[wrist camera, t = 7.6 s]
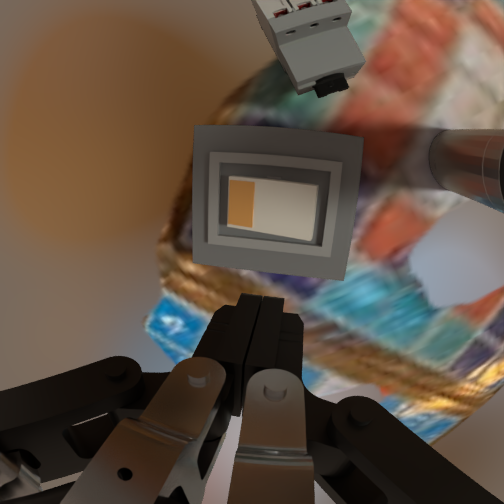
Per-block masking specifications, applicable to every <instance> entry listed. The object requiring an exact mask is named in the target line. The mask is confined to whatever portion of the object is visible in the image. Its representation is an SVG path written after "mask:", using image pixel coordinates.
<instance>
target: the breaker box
mask: <svg viewBox="0 0 504 504" xmlns="http://www.w3.org/2000/svg"><path fill="white" fill-rule="evenodd" d="M363 144H364V137H358V136H351V135H345V134H338V133H330V132H322V131H313V130H304V129H293V128H281V127H265V126H243V125H194V143H193V181H192V240H193V263H197V264H204V265H212V266H220V267H228V268H236V269H244V270H253V271H261V272H269V273H278V274H287V275H295V276H304V277H313V278H322V279H332V280H341V281H344V277H345V272H346V266H347V261H348V256H349V250H350V245H351V239H352V233H353V226H354V220H355V213H356V206H357V199H358V191H359V183H360V175H361V165H362V155H363ZM232 175H236V176H246V177H257V178H266V179H275V180H284V181H292V182H300V183H307V184H314V185H319V186H318V196H317V205H316V214H315V222H314V231H313V238H312V240H311V241H307V240H302V239H296V238H291V237H285V236H279V235H274V234H268V233H262V232H256V231H250V230H244V229H238V228H232V227H227V214H228V186H229V176H232Z"/></svg>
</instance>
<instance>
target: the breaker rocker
mask: <svg viewBox="0 0 504 504" xmlns="http://www.w3.org/2000/svg"><path fill="white" fill-rule="evenodd" d="M318 186H319V185H314V184H307V183H300V182H292V181H284V180H275V179H266V178H257V177H246V176H236V175H232V176H229V186H228V214H227V227H232V228H238V229H244V230H250V231H256V232H262V233H268V234H274V235H279V236H285V237H291V238H296V239H302V240H307V241H311V240H312V238H313V231H314V222H315V214H316V205H317V196H318Z"/></svg>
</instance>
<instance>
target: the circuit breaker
mask: <svg viewBox="0 0 504 504" xmlns="http://www.w3.org/2000/svg"><path fill="white" fill-rule="evenodd" d="M251 1H252V3H253V6H254V8H255V11H256V13H257V15H256V16H257V18H258V20H259V23H260V25H261V28H262V30H264V33H265V35H266V37H267V39H268V41H269V43H270V44H271V46H272V48H273V50H274V52H275V54H276V56H277V58H278V60H279V61H280V63H281V65H282V67H283V69H284V71H285V72H287V73H288V76H289V78H290V80H291V82H292V84H293V86H294V88H295V90H296V92H297V94H298V95H301V94H303V93H306V92H309V91H312V90H315V92H316V94H317V96H318V98H321V97H324V96H327V95H328V94H331V93H334V92H337V91H339V92H340V91H343V90H346V89H348V88H349V86H348V83H347V81H346V80H347V79H350V78H354V76H355V75H356V74H357V73H358V71H359V70H360V69H361V68H362V66H363V65H364V64H365V62H366V60H365V58H364V56H363V54H362V53H361V51H360V49H359V47H358V45H357V43H356V41H355V40H354V38H353V36H352V34H351V32H350V31H349V29H348V27H347V24H348V21H349V18H350V16H351V13H352V10H351V9H350V7H349V6H348V4H347V3H346V1H345V0H251Z"/></svg>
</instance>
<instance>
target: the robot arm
mask: <svg viewBox="0 0 504 504" xmlns="http://www.w3.org/2000/svg"><path fill="white" fill-rule="evenodd" d="M429 163H430V168H431V171H432V174H433V176H434V178H435V179H436V181H437V182H438V183H439V184H440V185H441V186H442V187H443V188H445V189H447V190H450V191H452V192H455V193H457V194H460V195H462V196H465V197H467V198H470V199H472V200H474V201H477V202H479V203H482V204H484V205H486V206H488V207H491V208H493V209H495V210H497V211H500V212H502V213H504V129H459V130H446V131H443V132H441V133H440V134H439V135H437V136H436V138H435V139H434V141H433V142H432V145H431V147H430V152H429ZM262 300H263V301H262ZM283 306H284V298H278V297H270V296H264V297H263V296H261V295H253V294H246V293H241V295H240V298H239V300H238V303H237V305H236V306H231V305H224V306H222V307H221V308H220V309H218V310H217V311H215V313H214V315H213V317H212V319H211V321H210V323H209V324H208V326H207V329H206V330H205V332H204V334H203V336H202V338H201V340H200V342H199V344H198V346H197V348H196V350H195V352H194V354H193V356H192V358H188V359H185V360H182V361H181V362H179V363H178V364H177V365H176V366H175V367H174V368H173V370H172V371H171V372H164V373H149V372H148V373H147V372H142V371H141V367H140V365H139V364H138V363H137V362H136V361H135V360H133V359H131V358H129V357H125V356H113V357H109V358H106V359H103V360H100V361H97V362H94V363H91V364H89V365H86V366H82V367H79V368H76V369H73V370H70V371H67V372H64V373H61V374H58V375H55V376H51V377H48V378H45V379H42V380H38V381H35V382H31V383H28V384H25V385H21V386H18V387H14V388H11V389H7V390H3V391H0V504H201V503H202V500H203V496H204V492H205V486H206V483H207V480H208V478H209V476H210V473H211V471H212V469H213V466H214V464H215V461H216V459H217V457H218V454H219V452H220V449H221V447H222V445H223V442H224V439H225V437H226V430H227V428H228V425H229V422H230V419H231V415H232V416H237V417H240V414H241V410H242V409H243V410H242V424H241V430H240V437H239V443H238V449H237V451H236V454H235V459H234V465H233V471H232V477H231V483H230V489H229V495H228V501H227V504H315V492H314V480H315V481H316V482H317V483H318V484H319V486H321V488H322V489H323V490H324V491H325V492H326V493H327V494H328V495H329V497H330V498H331V499H332V500H333V501H334V502H335V503H336V504H504V503H503V502H502V501H501V500H499V499H498V498H496V497H495V496H494V495H492V494H491V493H490V492H488V491H487V490H485V489H484V488H483V487H482V486H480V485H479V484H478V483H476V482H475V481H474V480H473V479H471V478H470V477H469V476H467V475H466V474H465V473H463V472H462V471H461V470H459V469H458V468H457V467H456V466H454V465H453V464H452V463H451V462H449V461H448V460H447V459H446V458H444V457H443V456H442V455H441V454H439V453H438V452H437V451H436V450H434V449H433V448H432V447H431V446H429V445H428V444H427V443H426V442H424V441H423V440H422V439H421V438H420V437H418V436H417V435H416V434H415V433H413V432H412V431H411V430H410V429H409V428H407V427H406V426H405V425H404V424H403V423H401V422H400V421H399V420H398V419H397V418H395V417H394V416H393V415H392V414H391V413H389V412H388V411H387V410H386V409H385V408H384V407H382V406H381V405H380V404H379V403H377V402H376V401H374V400H372V399H370V398H368V397H363V396H351V397H347V398H344V399H342V400H341V401H339V402H338V403H337V404H335V403H332V402H329V401H326V400H323V399H321V398H318V397H317V396H315V395H313V394H312V393H311V392H309V391H308V390H307V388H306V387H305V386H304V384H303V381H302V358H303V330H304V323H303V322H302V320H301V318H300V317H299V315H298V314H293V313H284V312H283ZM242 406H243V408H242ZM105 413H108V414H107V415H104V416H101V417H99V418H96V419H93V420H90V421H87V422H84V423H82V424H79V425H75V426H72V425H74V424H77V423H80V422H82V421H85V420H88V419H91V418H94V417H97V416H99V415H102V414H105ZM81 471H83V472H82V474H81V475H80V476H79V478H78V479H77V481H73V482H70V483H67V484H64V485H61V486H58V487H54V488H52V489H48V490H45V491H42V488H41V486H40V483H43V482H47V481H51V480H54V479H58V478H62V477H65V476H68V475H72V474H75V473H78V472H81Z"/></svg>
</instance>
